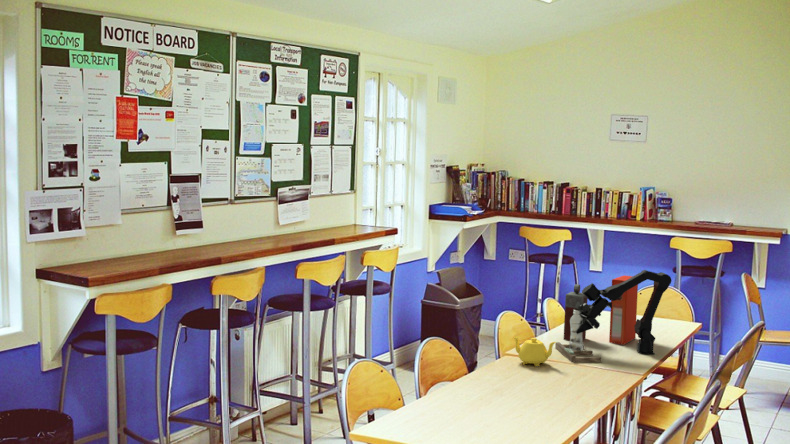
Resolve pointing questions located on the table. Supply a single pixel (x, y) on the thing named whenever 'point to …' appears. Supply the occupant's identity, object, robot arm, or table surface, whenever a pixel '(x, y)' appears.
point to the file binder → (623, 314)
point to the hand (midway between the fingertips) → (573, 331)
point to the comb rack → (576, 354)
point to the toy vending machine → (572, 309)
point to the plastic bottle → (575, 338)
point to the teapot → (533, 351)
